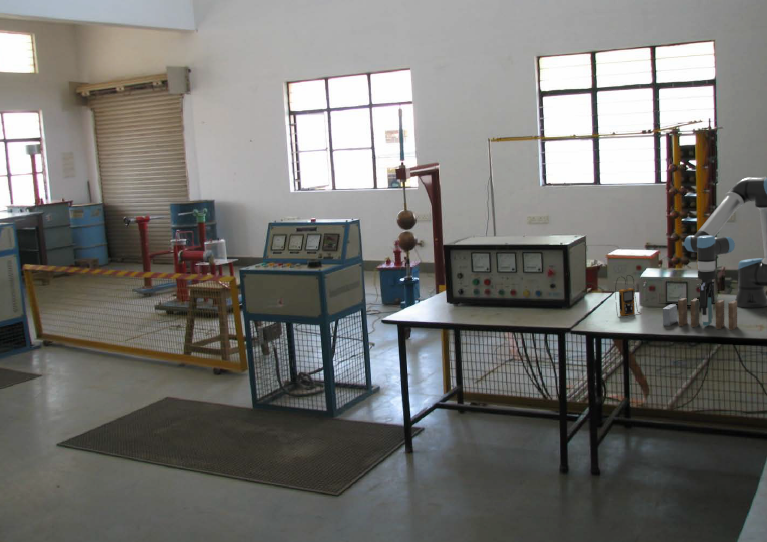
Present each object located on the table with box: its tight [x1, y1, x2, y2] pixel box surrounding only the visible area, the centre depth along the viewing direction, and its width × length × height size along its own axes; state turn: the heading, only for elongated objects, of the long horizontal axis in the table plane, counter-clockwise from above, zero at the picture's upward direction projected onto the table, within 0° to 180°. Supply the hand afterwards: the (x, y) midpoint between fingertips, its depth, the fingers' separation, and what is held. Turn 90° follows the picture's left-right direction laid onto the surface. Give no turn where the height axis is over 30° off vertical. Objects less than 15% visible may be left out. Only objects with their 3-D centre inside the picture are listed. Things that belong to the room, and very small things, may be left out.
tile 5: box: [677, 298, 689, 327], centre depth 366 cm, size 2×6×12 cm, turn 141°
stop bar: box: [662, 304, 678, 327], centre depth 370 cm, size 3×10×8 cm, turn 141°
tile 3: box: [702, 297, 713, 327], centre depth 358 cm, size 2×6×12 cm, turn 141°
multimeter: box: [614, 274, 641, 319], centre depth 389 cm, size 15×10×20 cm
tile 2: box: [714, 299, 725, 330], centre depth 355 cm, size 2×6×12 cm, turn 140°
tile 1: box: [727, 300, 738, 331], centre depth 351 cm, size 2×6×12 cm, turn 141°
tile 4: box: [690, 298, 701, 328], centre depth 362 cm, size 2×6×12 cm, turn 141°
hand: (707, 320), depth 359 cm, fingers closed on tile 3, 6 cm apart
